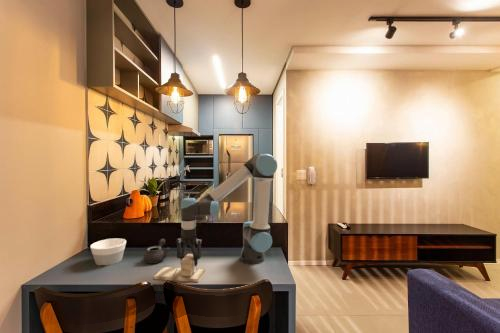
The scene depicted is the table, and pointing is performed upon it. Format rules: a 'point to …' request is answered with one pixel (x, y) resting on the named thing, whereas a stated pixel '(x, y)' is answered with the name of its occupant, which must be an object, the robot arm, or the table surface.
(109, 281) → the table surface
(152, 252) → the teapot
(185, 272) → the sanding block
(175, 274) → the board
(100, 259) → the bowl
